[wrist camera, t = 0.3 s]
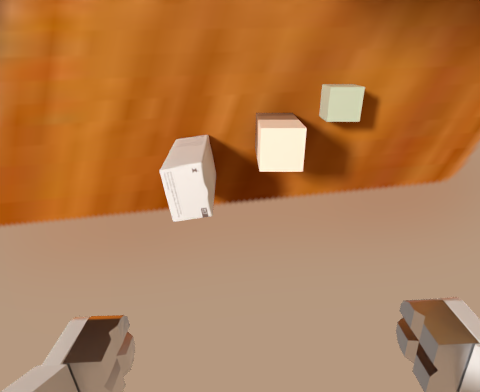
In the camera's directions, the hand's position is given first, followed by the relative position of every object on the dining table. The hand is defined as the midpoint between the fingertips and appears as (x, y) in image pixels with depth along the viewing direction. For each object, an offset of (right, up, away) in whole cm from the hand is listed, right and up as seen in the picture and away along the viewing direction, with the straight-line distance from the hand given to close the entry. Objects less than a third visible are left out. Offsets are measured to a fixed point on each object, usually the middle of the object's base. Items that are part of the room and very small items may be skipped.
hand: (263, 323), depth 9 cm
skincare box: (-8, +10, +46) cm, 48 cm away
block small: (+15, +19, +42) cm, 49 cm away
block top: (+5, +12, +38) cm, 41 cm away
